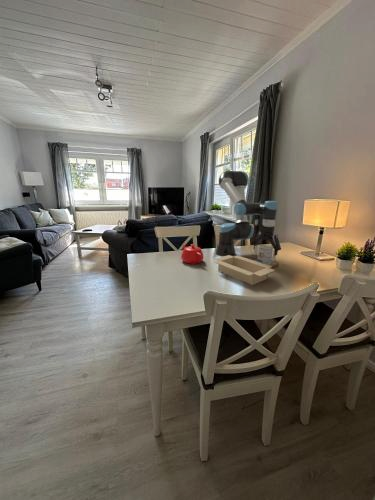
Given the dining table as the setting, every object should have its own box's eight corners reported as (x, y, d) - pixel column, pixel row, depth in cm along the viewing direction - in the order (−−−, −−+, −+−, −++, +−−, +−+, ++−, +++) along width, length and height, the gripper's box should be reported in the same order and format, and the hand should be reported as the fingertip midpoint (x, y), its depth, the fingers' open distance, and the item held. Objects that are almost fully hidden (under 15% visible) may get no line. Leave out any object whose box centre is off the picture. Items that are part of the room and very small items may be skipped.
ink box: (256, 263, 143) (258, 246, 140) (258, 261, 147) (260, 244, 144) (270, 265, 139) (272, 248, 136) (271, 263, 143) (273, 246, 140)
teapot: (211, 264, 142) (212, 247, 138) (191, 268, 134) (192, 250, 130) (191, 254, 162) (191, 239, 159) (173, 257, 154) (173, 241, 151)
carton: (208, 270, 132) (209, 260, 130) (232, 263, 145) (232, 253, 144) (254, 289, 108) (255, 278, 106) (277, 279, 121) (278, 268, 119)
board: (248, 263, 145) (248, 262, 144) (260, 260, 153) (260, 258, 153) (266, 270, 134) (267, 268, 134) (278, 265, 143) (278, 263, 142)
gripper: (248, 223, 143) (245, 253, 149) (284, 229, 125) (278, 263, 131) (255, 222, 148) (251, 251, 154) (290, 228, 129) (284, 261, 135)
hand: (264, 257), depth 142 cm, fingers open, 13 cm apart
